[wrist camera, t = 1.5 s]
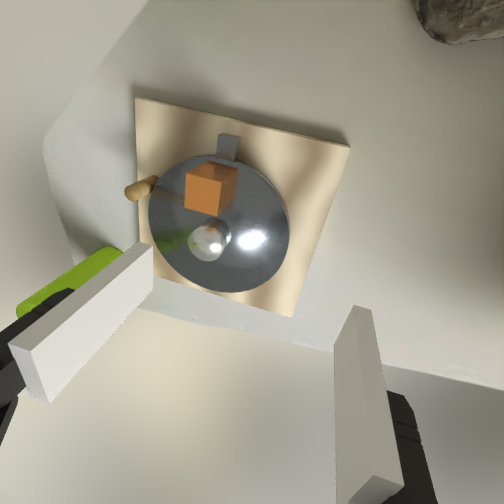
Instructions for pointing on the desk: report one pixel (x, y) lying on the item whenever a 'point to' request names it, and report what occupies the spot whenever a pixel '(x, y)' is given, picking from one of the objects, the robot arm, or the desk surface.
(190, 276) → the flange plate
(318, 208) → the post base
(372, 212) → the desk surface
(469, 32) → the fossil
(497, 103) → the desk surface
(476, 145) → the desk surface
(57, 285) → the soap dispenser
